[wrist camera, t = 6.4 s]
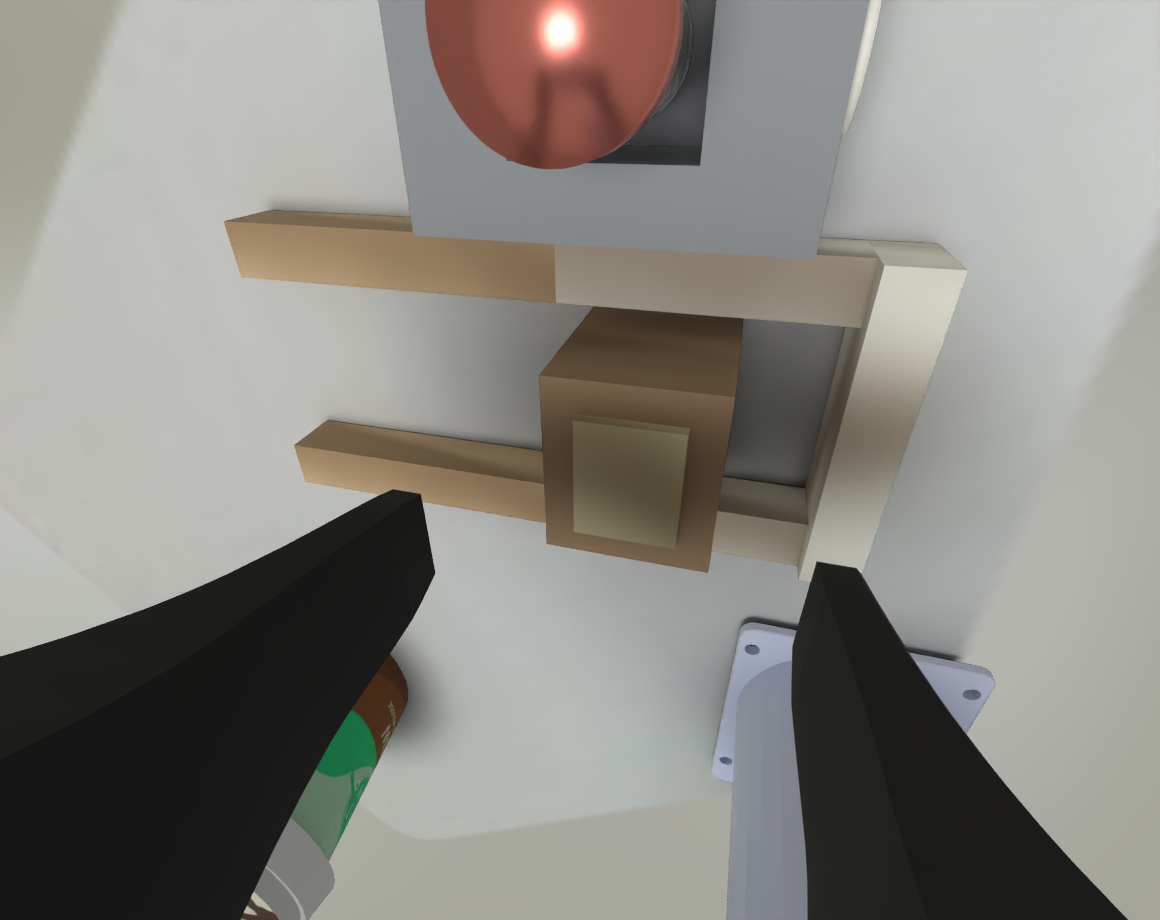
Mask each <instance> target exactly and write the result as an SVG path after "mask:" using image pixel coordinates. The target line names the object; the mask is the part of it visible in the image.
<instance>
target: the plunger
mask: <svg viewBox="0 0 1160 920" xmlns="http://www.w3.org/2000/svg"><path fill="white" fill-rule="evenodd" d="M425 17H426V29H427V35H428V41H429V47H430V51H431V55H432V59H433V63H434V66H435V69H436V72H437V74H438V77H439V80H440V83H441V85H442V87H443V89H444V91H445V93H446V95H447V97H448V99H449V101H450V103H451V104H452V106H453V108H454V109H455V111H456V112H457V114H458V116H459V117H460V118H461V120H462V121H463V122H464V123H465V125H466V126H467V127H468V128H469V130H470V131H471V132H472V133H473V134H474V135H475V136H476V137H477V138H478V139H479V140H480V141H481V142H483V143H484V144H485V145H487V146H488V147H489V148H490V149H492V150H493V151H495V152H496V153H498V154H500V155H501V156H503V157H505V158H506V159H509V160H511V161H513V162H516V163H518V164H521V165H525V166H529V167H532V168H539V169H549V170H550V169H565V168H570V167H575V166H579V165H582V164H584V163H587V162H590V161H593V160H595V159H597V158H600V157H602V156H605V155H607V154H609V153H611V152H612V151H614V150H616V149H618V148H620V147H621V146H622V145H624V144H625V143H626V142H628V141H629V140H630V139H632V138H633V137H634V136H635V135H636V134H637V133H638V132H639V131H640V130H641V129H642V128H643V127H644V125H645V124H646V123H647V122H648V120H649V119H650V118H652V117H654V116H655V115H657V114H658V113H659V112H661V111H662V110H663V109H664V108H665V107H666V106H667V105H668V104H669V103H670V101H671V100H672V99H673V98H674V96H675V95H676V93H677V92H678V90H679V89H680V87H681V85H682V83H683V81H684V79H685V76H686V73H687V70H688V67H689V63H690V59H691V53H692V45H693V31H692V22H691V16H690V12H689V9H688V6H687V2H686V0H425Z"/></svg>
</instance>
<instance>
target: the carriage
mask: <svg viewBox="0 0 1160 920" xmlns="http://www.w3.org/2000/svg"><path fill="white" fill-rule="evenodd" d="M743 319H744V318H733V317H721V316H709V315H697V314H684V313H672V312H660V311H648V310H636V309H623V308H611V307H599V306H594V307H593V308H592V310H591V311H590V312H589V313H588V315H587V316H586V317H585V318H584V320H583V321H582V322H581V323H580V325H579V326H578V327H577V328H576V330H575V331H574V332H573V334H572V335H571V336H570V337H569V339H568V340H567V341H566V342H565V344H564V345H563V346H562V347H561V349H560V350H559V351H558V352H557V354H556V355H555V356H554V357H553V359H552V360H551V361H550V362H549V364H548V365H547V366H546V367H545V369H544V370H543V371H542V372H541V374H540V375H539V384H540V406H541V428H542V450H543V472H544V494H545V516H546V538H547V544H550V545H556V546H561V547H567V548H572V549H578V550H584V551H589V552H595V553H600V554H606V555H612V556H617V557H623V558H628V559H634V560H639V561H645V562H651V563H656V564H662V565H667V566H673V567H678V568H684V569H690V570H695V571H701V572H706V573H708V570H709V563H710V557H711V551H712V544H713V538H714V531H715V525H716V519H717V512H718V506H719V499H720V493H721V487H722V480H723V474H724V468H725V461H726V455H727V448H728V442H729V436H730V429H731V423H732V417H733V410H734V404H735V397H736V388H737V378H738V368H739V358H740V348H741V338H742V328H743Z"/></svg>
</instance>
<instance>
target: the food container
mask: <svg viewBox="0 0 1160 920" xmlns="http://www.w3.org/2000/svg"><path fill="white" fill-rule="evenodd" d="M407 701H408V688H407V684H406V680H405V678H404V676H403V673H402V671H401V670H400V668H399V666H398V665H397V663H396V662H395V660H394V659H393V658H392V657H391V655H390V654H389V655H388V657H387V658H386V660H385V661H384V663H383V664H382V666H381V667H380V669H379V670H378V672H377V673H376V674H375V676H374V677H373V679H372V680H371V682H370V683H369V685H368V686H367V688H366V689H365V691H364V692H363V694H362V695H361V697H360V698H359V699H358V701H357V702H356V704H355V705H354V707H353V708H352V710H351V711H350V713H349V714H348V716H347V717H346V719H345V720H344V722H343V723H342V725H341V727H340V728H339V730H338V731H337V733H336V735H335V736H334V738H333V739H332V741H331V743H330V745H329V746H328V748H327V750H326V752H325V754H324V755H323V757H322V759H321V761H320V763H319V765H318V766H317V768H316V770H315V772H314V774H313V776H312V777H311V779H310V781H309V783H308V785H307V786H306V788H305V790H304V792H303V794H302V796H301V798H300V800H299V802H298V804H297V806H296V807H295V809H294V811H293V813H292V815H291V817H290V819H289V821H288V823H287V825H286V827H285V829H284V831H283V833H282V835H281V837H280V839H279V841H278V842H277V844H276V846H275V848H274V850H273V852H272V855H271V857H270V859H269V861H268V863H267V865H266V867H265V869H264V871H263V873H262V876H261V878H260V880H259V882H258V884H257V886H256V888H255V890H254V892H253V894H252V896H251V899H250V901H249V903H248V905H247V907H246V909H245V911H244V913H243V915H242V918H241V920H309V918H310V917H311V916H312V915H313V913H314V912H315V911H316V909H317V908H318V907H319V906H320V904H321V903H322V902H323V900H324V899H325V898H326V897H327V895H328V894H329V893H330V891H331V890H332V889H333V886H334V881H335V879H334V874H333V870H332V868H331V865H330V863H329V860H330V858H331V856H332V854H333V852H334V850H335V848H336V846H337V844H338V842H339V840H340V838H341V836H342V834H343V832H344V830H345V828H346V826H347V824H348V822H349V820H350V818H351V816H352V814H353V812H354V810H355V808H356V806H357V804H358V802H359V800H360V798H361V796H362V794H363V792H364V790H365V788H366V785H367V783H368V781H369V779H370V777H371V775H372V773H373V771H374V769H375V767H376V765H377V763H378V761H379V759H380V757H381V755H382V753H383V751H384V749H385V747H386V745H387V743H388V741H389V739H390V737H391V735H392V733H393V731H394V729H395V727H396V725H397V723H398V721H399V719H400V717H401V715H402V713H403V711H404V709H405V707H406V704H407Z"/></svg>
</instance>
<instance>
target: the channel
mask: <svg viewBox="0 0 1160 920" xmlns="http://www.w3.org/2000/svg"><path fill="white" fill-rule="evenodd" d="M224 223H225V227H226V230H227V233H228V236H229V239H230V243H231V246H232V249H233V252H234V255H235V259H236V262H237V265H238V268H239V271H240V274H241V277H245V278H257V279H269V280H281V281H293V282H306V283H318V284H330V285H342V286H355V287H367V288H379V289H391V290H403V291H416V292H428V293H440V294H452V295H465V296H477V297H489V298H501V299H513V300H526V301H538V302H550V303H562V304H574V305H587V306H599V307H611V308H623V309H636V310H648V311H660V312H672V313H684V314H697V315H709V316H721V317H733V318H746V319H758V320H770V321H782V322H794V323H807V324H819V325H831V326H843V327H846V328H845V332H844V336H843V340H842V344H841V347H840V351H839V355H838V359H837V363H836V367H835V371H834V375H833V379H832V383H831V387H830V391H829V395H828V399H827V403H826V407H825V411H824V415H823V419H822V423H821V427H820V431H819V435H818V439H817V442H816V446H815V450H814V454H813V458H812V462H811V466H810V470H809V474H808V478H807V482H806V486H805V488H798V487H791V486H784V485H777V484H770V483H763V482H756V481H749V480H742V479H735V478H728V477H723V480H722V487H721V493H720V499H719V506H718V512H717V519H716V525H715V531H714V538H713V544H712V551H714V552H719V553H725V554H731V555H737V556H743V557H749V558H754V559H760V560H766V561H772V562H778V563H784V564H790V565H795V566H798V580H800V581H806V582H811V579H812V576H813V572H814V569H815V565H816V562H817V561H818V562H824V563H830V564H836V565H841V566H847V567H853V568H857V569H858V571H859V572H860V573H861V574H862V572H863V569H864V566H865V563H866V560H867V557H868V554H869V552H870V549H871V546H872V543H873V540H874V537H875V535H876V532H877V529H878V526H879V523H880V520H881V518H882V515H883V512H884V509H885V506H886V503H887V500H888V498H889V495H890V492H891V489H892V486H893V483H894V481H895V478H896V475H897V472H898V469H899V466H900V463H901V461H902V458H903V455H904V452H905V449H906V446H907V444H908V441H909V438H910V435H911V432H912V429H913V426H914V424H915V421H916V418H917V415H918V412H919V409H920V407H921V404H922V401H923V398H924V395H925V392H926V389H927V387H928V384H929V381H930V378H931V375H932V372H933V370H934V367H935V364H936V361H937V358H938V355H939V352H940V350H941V347H942V344H943V341H944V338H945V335H946V333H947V330H948V327H949V324H950V321H951V318H952V315H953V313H954V310H955V307H956V304H957V301H958V298H959V296H960V293H961V290H962V287H963V284H964V281H965V278H966V276H967V273H968V270H967V269H966V268H965V267H964V266H963V265H962V264H961V263H959V262H958V261H957V260H956V259H955V258H954V257H953V256H952V255H950V254H949V253H948V252H947V251H946V250H945V249H944V248H943V247H941V246H940V245H939V244H933V243H913V242H893V241H873V240H853V239H833V238H820V240H819V244H818V249H817V254H816V259H801V258H784V257H767V256H750V255H733V254H716V253H698V252H681V251H664V250H647V249H630V248H613V247H595V246H578V245H561V244H544V243H527V242H509V241H492V240H475V239H458V238H441V237H424V236H413V229H412V222H411V217H396V216H376V215H356V214H337V213H317V212H297V211H277V210H269V211H264V212H260V213H256V214H252V215H248V216H244V217H240V218H235V219H231V220H227V221H224ZM294 447H295V450H296V453H297V456H298V460H299V463H300V466H301V469H302V472H303V475H304V479H305V482H310V483H316V484H321V485H327V486H333V487H339V488H345V489H351V490H357V491H362V492H368V493H374V494H380V495H381V494H383V493H385V492H388V491H390V490H392V489H395V490H401V491H407V492H413V493H418V494H421V497H422V502H427V503H433V504H438V505H444V506H450V507H456V508H462V509H468V510H474V511H479V512H485V513H491V514H497V515H503V516H509V517H515V518H520V519H526V520H532V521H538V522H544V523H546V516H545V494H544V472H543V451H538V450H531V449H524V448H517V447H510V446H503V445H496V444H489V443H482V442H475V441H468V440H461V439H454V438H447V437H440V436H433V435H426V434H418V433H411V432H404V431H397V430H390V429H383V428H376V427H369V426H362V425H355V424H348V423H341V422H334V421H326V422H324V423H323V424H322V425H320V426H319V427H318V428H316V429H315V430H314V431H312V432H311V433H310V434H308V435H307V436H306V437H304V438H303V439H302V440H300V441H299V442H298V443H296V444H295V445H294Z"/></svg>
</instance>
